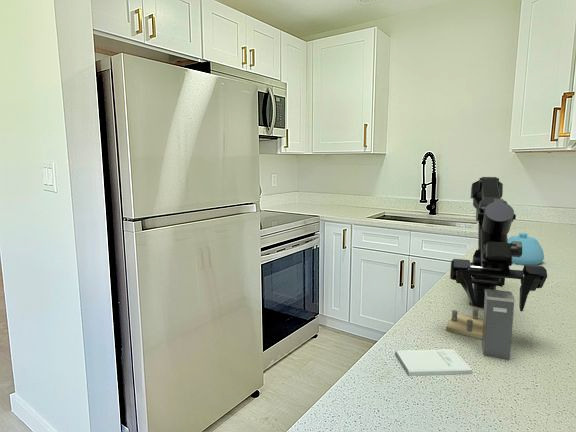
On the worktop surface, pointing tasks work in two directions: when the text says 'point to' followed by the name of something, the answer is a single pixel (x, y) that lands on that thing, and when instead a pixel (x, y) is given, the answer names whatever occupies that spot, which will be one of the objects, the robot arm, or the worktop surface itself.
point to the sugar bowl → (528, 250)
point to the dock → (466, 324)
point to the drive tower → (497, 323)
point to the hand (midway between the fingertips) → (496, 307)
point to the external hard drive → (432, 362)
